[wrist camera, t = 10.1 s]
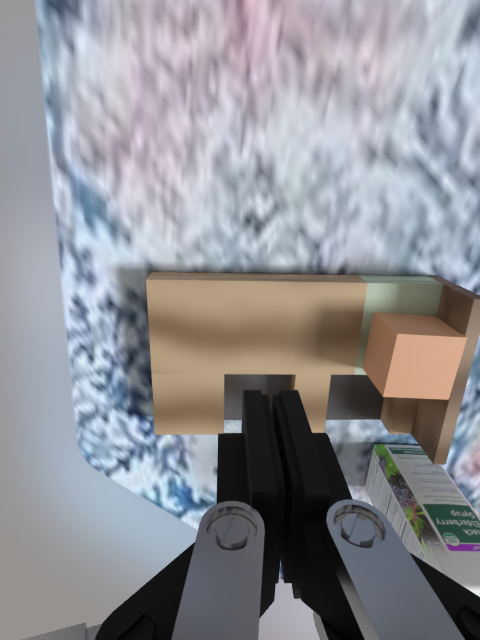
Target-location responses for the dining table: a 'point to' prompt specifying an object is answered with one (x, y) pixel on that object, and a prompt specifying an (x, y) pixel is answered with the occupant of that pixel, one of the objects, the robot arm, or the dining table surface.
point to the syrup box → (426, 511)
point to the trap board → (294, 348)
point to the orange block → (413, 355)
